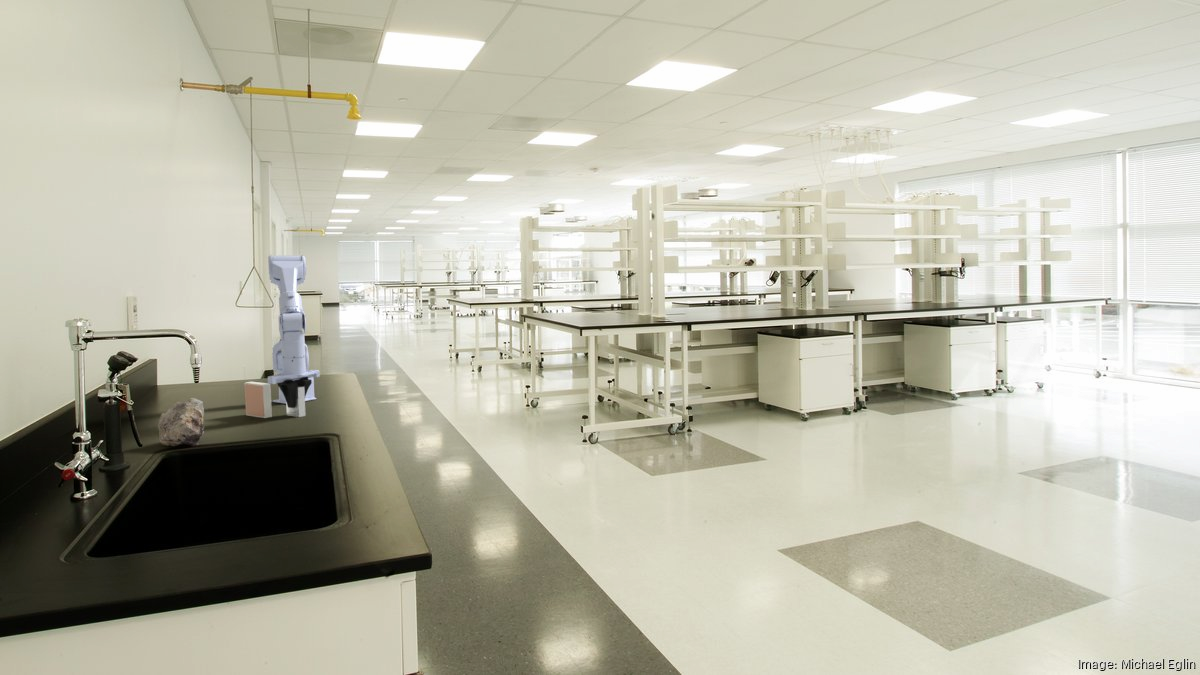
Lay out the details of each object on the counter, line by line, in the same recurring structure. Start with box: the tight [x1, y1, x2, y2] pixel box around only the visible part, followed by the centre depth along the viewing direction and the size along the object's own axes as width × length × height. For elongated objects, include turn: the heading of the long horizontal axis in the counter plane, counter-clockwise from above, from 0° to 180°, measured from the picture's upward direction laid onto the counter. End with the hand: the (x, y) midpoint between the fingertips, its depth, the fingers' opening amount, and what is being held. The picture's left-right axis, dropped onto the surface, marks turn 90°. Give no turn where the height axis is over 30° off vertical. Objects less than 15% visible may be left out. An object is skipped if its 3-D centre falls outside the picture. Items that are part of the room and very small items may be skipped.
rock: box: [157, 397, 205, 447], centre depth 146 cm, size 9×12×10 cm
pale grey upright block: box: [285, 386, 306, 418], centre depth 176 cm, size 2×5×8 cm, turn 63°
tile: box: [244, 381, 273, 419], centre depth 175 cm, size 2×8×9 cm, turn 62°
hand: (295, 406), depth 176 cm, fingers closed on pale grey upright block, 2 cm apart
